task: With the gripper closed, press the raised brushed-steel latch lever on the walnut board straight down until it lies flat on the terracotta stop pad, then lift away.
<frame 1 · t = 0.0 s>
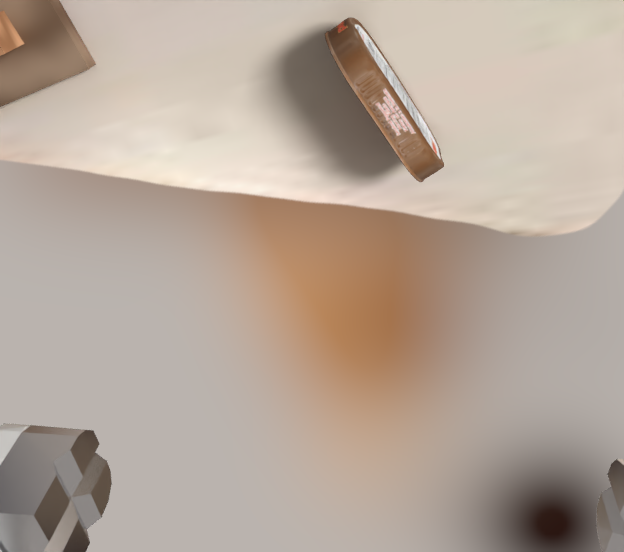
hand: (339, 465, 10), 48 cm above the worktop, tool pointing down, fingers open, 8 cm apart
tin: (389, 85, 54), on the worktop
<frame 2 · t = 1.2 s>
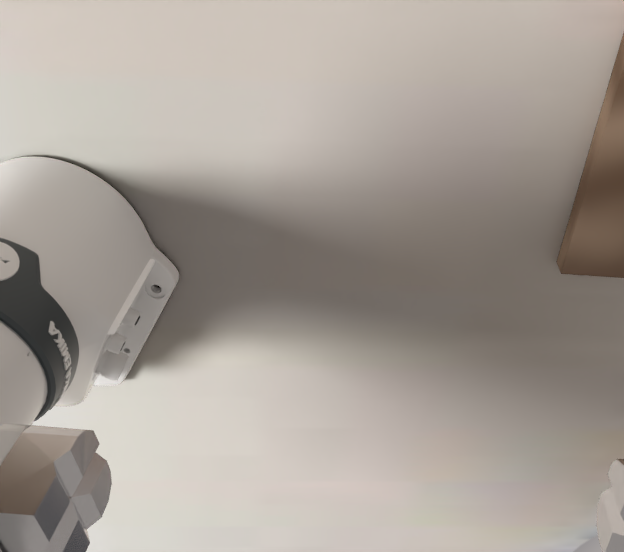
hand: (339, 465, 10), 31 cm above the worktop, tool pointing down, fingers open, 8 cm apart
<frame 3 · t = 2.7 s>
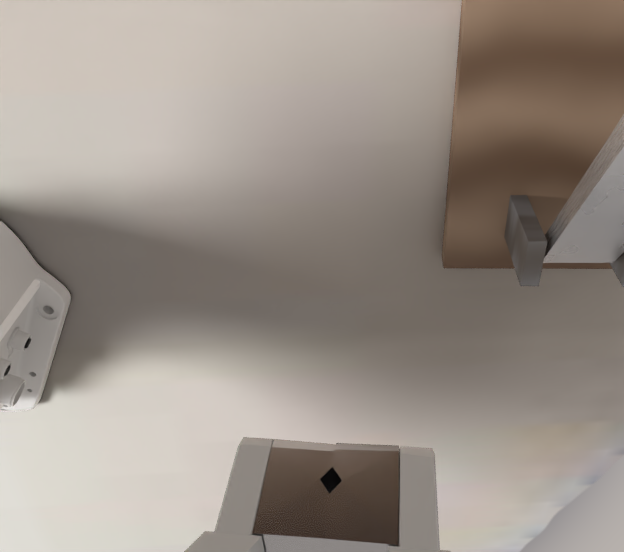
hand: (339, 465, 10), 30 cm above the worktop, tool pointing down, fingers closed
latch base: (582, 63, 34), on the worktop
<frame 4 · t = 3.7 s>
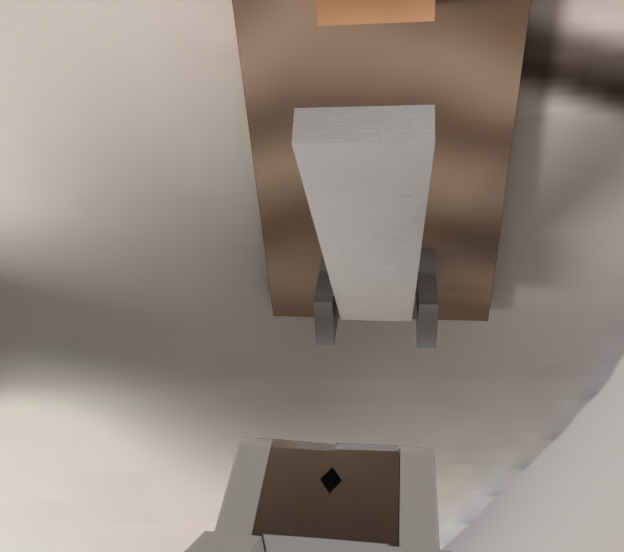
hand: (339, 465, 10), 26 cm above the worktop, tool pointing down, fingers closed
latch lever: (371, 249, 25), point 11 cm above the worktop, hinge at 35.0°
latch base: (378, 118, 33), on the worktop
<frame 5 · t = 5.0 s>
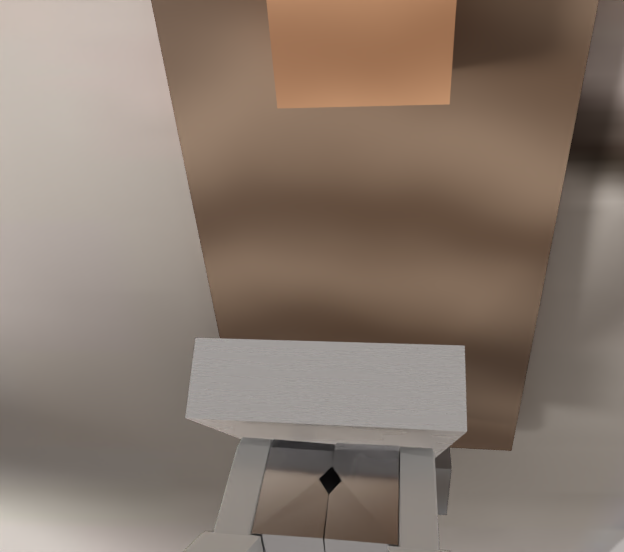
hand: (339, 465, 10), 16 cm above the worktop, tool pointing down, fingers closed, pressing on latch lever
latch lever: (356, 439, 17), point 10 cm above the worktop, hinge at 34.7°, touching gripper
latch base: (370, 208, 25), on the worktop
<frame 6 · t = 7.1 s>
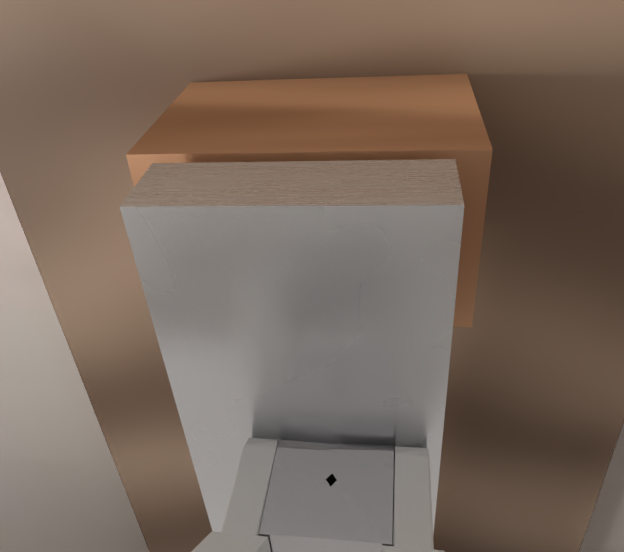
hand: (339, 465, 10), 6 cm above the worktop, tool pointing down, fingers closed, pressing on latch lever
latch base: (345, 379, 17), on the worktop
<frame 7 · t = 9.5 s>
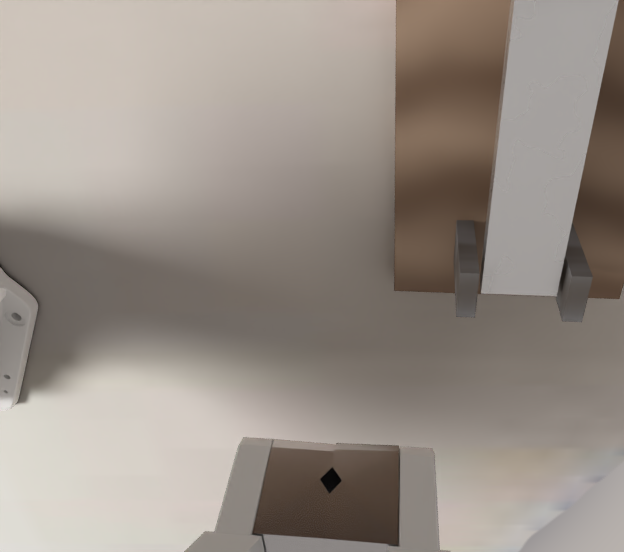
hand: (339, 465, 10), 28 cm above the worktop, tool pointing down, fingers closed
latch lever: (541, 131, 28), point 6 cm above the worktop, hinge at 0.7°
latch base: (527, 87, 32), on the worktop
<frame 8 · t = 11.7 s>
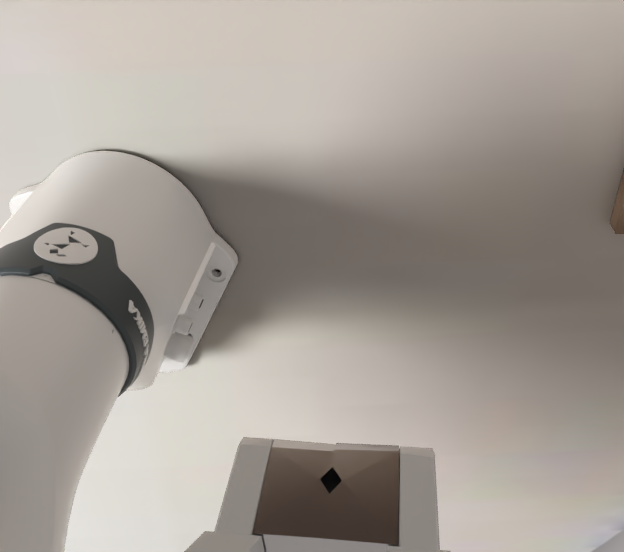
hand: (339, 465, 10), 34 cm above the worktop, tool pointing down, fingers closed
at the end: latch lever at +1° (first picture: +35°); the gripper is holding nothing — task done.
